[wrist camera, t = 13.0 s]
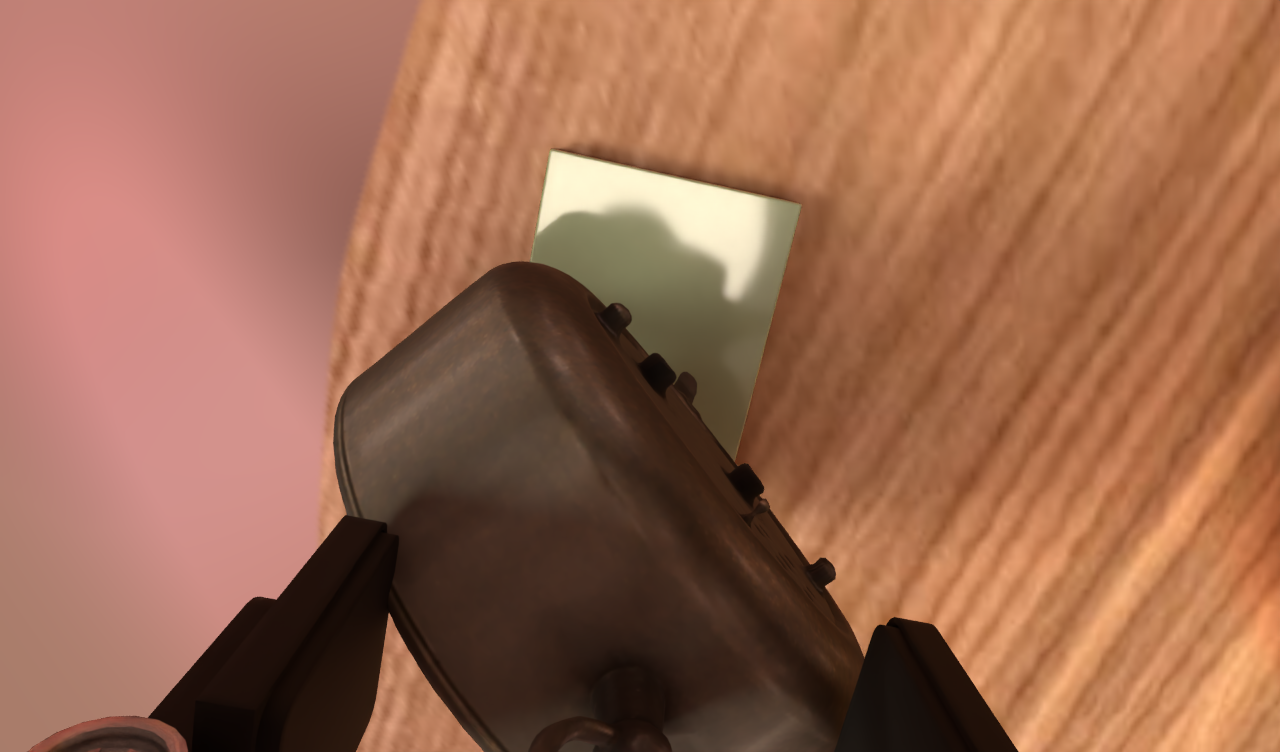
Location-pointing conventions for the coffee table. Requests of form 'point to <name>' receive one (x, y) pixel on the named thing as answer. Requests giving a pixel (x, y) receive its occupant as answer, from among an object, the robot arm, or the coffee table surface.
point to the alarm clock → (584, 538)
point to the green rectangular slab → (674, 269)
